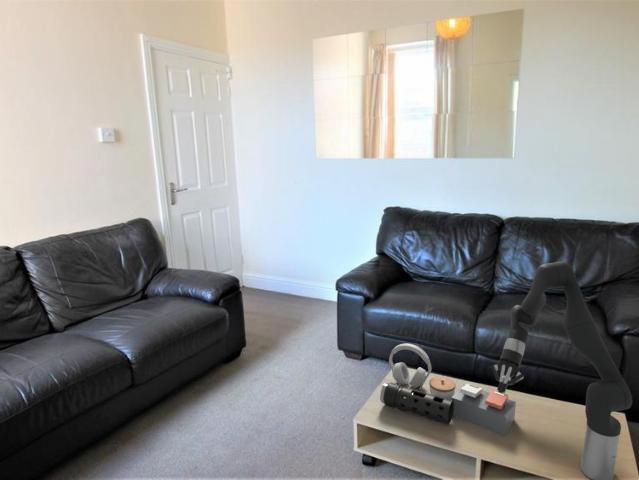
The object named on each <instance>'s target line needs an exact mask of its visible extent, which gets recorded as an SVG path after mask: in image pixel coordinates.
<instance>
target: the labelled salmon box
mask: <svg viewBox="0 0 639 480" xmlns="http://www.w3.org/2000/svg"><path fill="white" fill-rule="evenodd" d="M489 393H490V394H489V396H488V397H487V399H486V400H485V404H487V405H489V406H492V407H495V408H498V409H500V410H501V409H502V408H503V406H504V404H505V403H506V401H507V399H509V394H506V393H501V392H498V390H494V389H492V390H491V391H490V392H489Z"/></svg>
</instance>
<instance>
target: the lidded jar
mask: <svg viewBox="0 0 639 480" xmlns="http://www.w3.org/2000/svg"><path fill="white" fill-rule="evenodd" d="M428 383H429V392H430V393H429V394H430V395H434V396H437V397H441V398H444V399H448V400H451V401H452V396H453V395H454V394H455V393H456V385H457V384H456V382H455V381H454V380H453V379H452V378H450V377H448V376H444V375H441V376H440V375H438V376H433V377H432V378H430V380H429V382H428Z"/></svg>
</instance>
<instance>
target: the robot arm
mask: <svg viewBox="0 0 639 480" xmlns="http://www.w3.org/2000/svg"><path fill="white" fill-rule="evenodd" d="M532 280H533V281H532V284H531V286H530V289H529V291H528V293H527V295H526V296H525V298H524V300H523V301H522V303H521V305H520V304H516V305H514V306H513V307H512V309H511V310H510V329H509V331H508V332H509V333H508V335H507V339H506V341H505V343H504V346H503V349H502V352H501V355H500V358H499V361H497V362H496V363H497V364H491V365H490V369H491V370H492V373H493V375H494V378H495V380H496V381H497V382H498V385H497V387H496V388H497V390H496V391H498V392H501V393H504V394H506V391H507V388H508V386H514V385H515V384H517V383H520V381H523V380H524V375H523V374H522V373H521V372H520V371H521V370H520V369H521V368H520V367H521V364H522V361H523V357H524V354H525V349H526V345H527V341H528V337H529V332H528V330H527V329H525V328H524V327H523V326H521V325H520V324H522V325H525V326H527V327H530V328H531V327H534V326H536V325H537V324H538V321H539V314H540V311H541V310H543V308H544V306H545V305H546V304H547V295H546V293H545V292H546V291H547V290H551V289H559V288H562V289H563V291H564V294H565V297H566V309H565V314H564V317H563V327H564V330H565V332H566V334H567V337H568V339H569V341H570V343H571V344H572V346H573V347H574V348H575V350H577V352H579V353H580V355H582V356H583V357H584V358H585V359H586V360H587V361H589V362H590V363H591V364H592V365H593V367H594V368H595V369H596V371H597V374H598V375H599V377H600V379H601V381H594V382H591V383H590V384H589V385H588V387H587V390H586V396H585V411H584V412H585V417H586V423H585V425H586V426H585V431H584V438H583V439H584V440H583V446H582V452H581V461H580V470H581V472H582V473H583V475H585V476H586V477H587V478H589V479H590V480H614V476H615V471H616V465H617V458H618V453H619V452H618V451H619V444H620V438H621V430H622V425H621V422H620V421H619V420H618V419H617V418H616V417H614V416H613V415H612V413H614V412H619V411H625V410H628V409H630V408H631V407H632V405H633V396H632V393H631V390H630V388H629V386H628V384H627V383H626V381H625V380H624V378H623V376H622V374H621V373H620V371H619V369H618V367H617V365H616V364H615V362H614V361H613V358H612V357H611V354H610V353H609V351H608V348H607V347H606V344H605V343H604V340H603V338H602V335H601V334H600V331H599V329H598V327H597V324H596V323H595V320H594V318H593V316H592V314H591V312H590V310H589V308H588V305H587V303H586V301H585V298H584V295H583V294H582V291H581V288H580V284H579V282H578V279H577V277H576V274H575V272H574V270H573V267H572V266H571V264H569V262H567V261H564V260H563V261H555V262H548V263H544V264H540V266H539V267H538V268H537V269H536V271H535V274H534V277H533V279H532ZM498 371H499V373H500V374H498ZM499 375H500V376H499ZM514 376H515V377H514ZM513 377H514V378H513Z"/></svg>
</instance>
